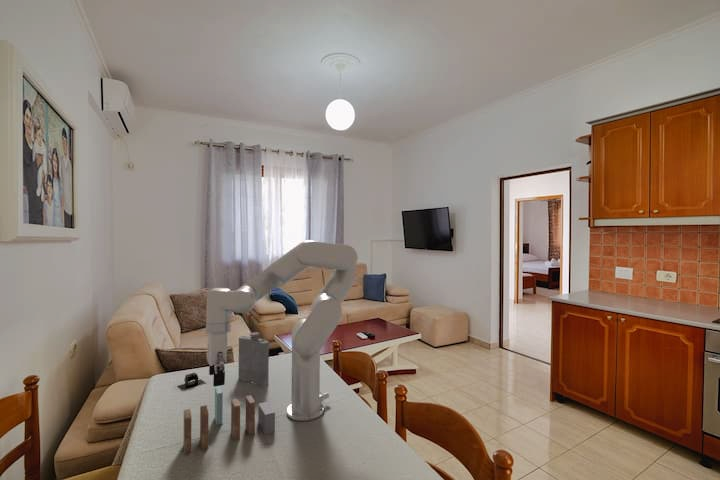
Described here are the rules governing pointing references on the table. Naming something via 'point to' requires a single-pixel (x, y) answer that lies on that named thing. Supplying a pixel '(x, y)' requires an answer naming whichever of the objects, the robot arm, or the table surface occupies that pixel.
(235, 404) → the domino
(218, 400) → the domino
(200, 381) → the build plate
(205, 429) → the domino
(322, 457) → the table surface
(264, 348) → the hip flask
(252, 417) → the domino
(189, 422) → the domino
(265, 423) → the end block
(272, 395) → the table surface
